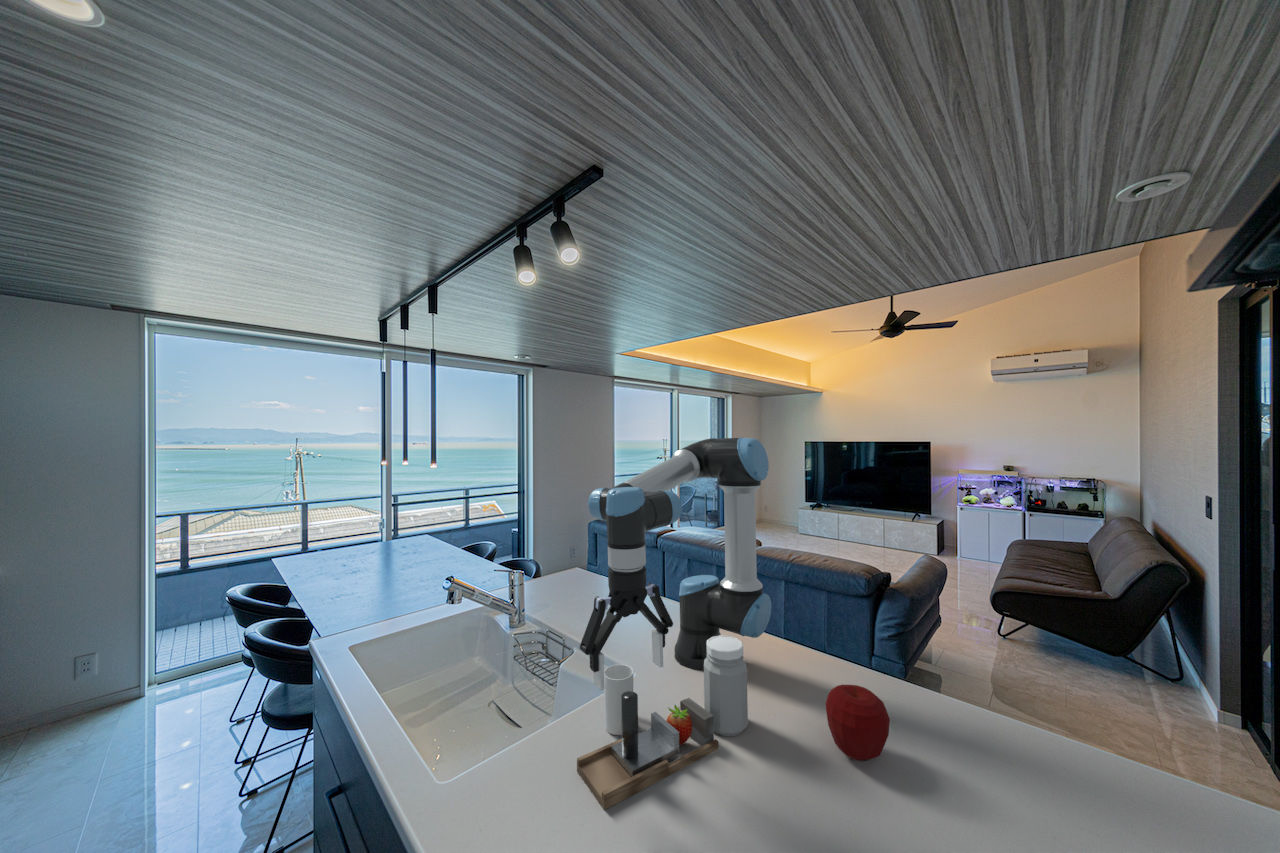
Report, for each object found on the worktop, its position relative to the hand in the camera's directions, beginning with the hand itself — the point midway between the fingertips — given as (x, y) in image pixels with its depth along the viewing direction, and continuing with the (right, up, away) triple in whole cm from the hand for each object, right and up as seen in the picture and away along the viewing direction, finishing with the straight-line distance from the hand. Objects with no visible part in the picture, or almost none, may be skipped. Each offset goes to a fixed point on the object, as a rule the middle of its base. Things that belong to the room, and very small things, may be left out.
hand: (629, 675), depth 86 cm
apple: (+46, -18, +2) cm, 49 cm away
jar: (+21, -18, +13) cm, 31 cm away
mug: (-2, -19, +14) cm, 23 cm away
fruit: (+10, -18, +6) cm, 22 cm away
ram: (+3, -16, +1) cm, 16 cm away
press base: (+4, -18, +2) cm, 19 cm away
